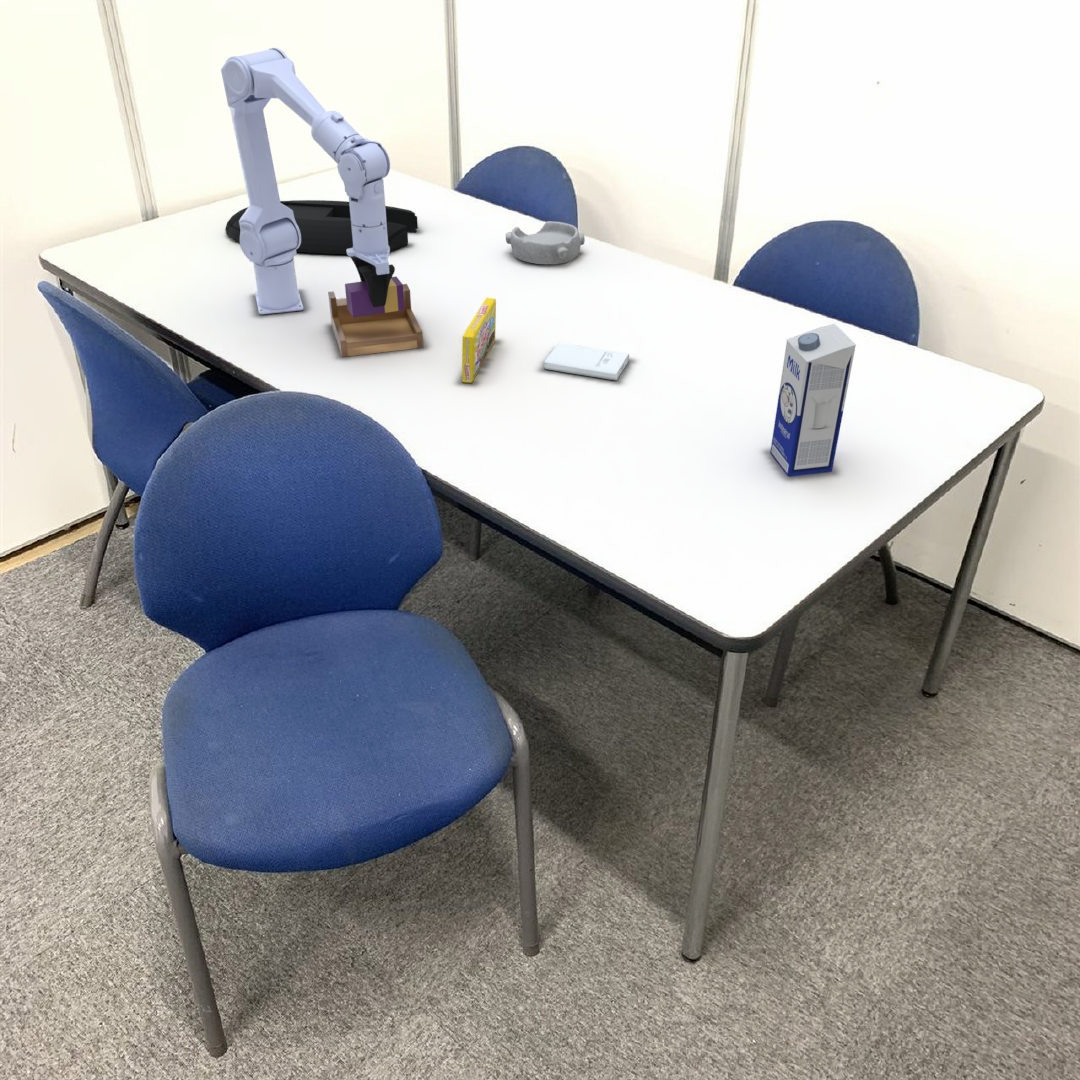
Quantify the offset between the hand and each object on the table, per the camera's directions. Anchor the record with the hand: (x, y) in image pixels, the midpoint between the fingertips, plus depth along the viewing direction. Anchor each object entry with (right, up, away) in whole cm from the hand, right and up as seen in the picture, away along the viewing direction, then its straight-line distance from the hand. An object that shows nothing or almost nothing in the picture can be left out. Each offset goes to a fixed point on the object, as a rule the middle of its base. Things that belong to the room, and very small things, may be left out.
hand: (375, 300), depth 186 cm
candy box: (+18, -11, -1) cm, 21 cm away
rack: (-1, -5, +6) cm, 8 cm away
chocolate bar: (0, -1, +1) cm, 2 cm away
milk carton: (+66, -29, -27) cm, 77 cm away
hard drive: (+36, -12, -2) cm, 38 cm away
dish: (+29, +18, +39) cm, 52 cm away
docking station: (-19, +25, +48) cm, 57 cm away
